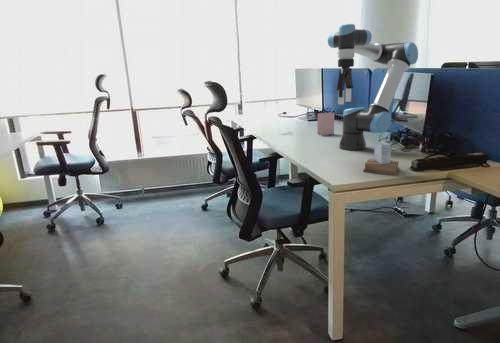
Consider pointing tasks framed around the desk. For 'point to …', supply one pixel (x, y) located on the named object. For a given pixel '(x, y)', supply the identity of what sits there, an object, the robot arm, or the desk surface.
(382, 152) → the medicine box
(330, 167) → the desk surface
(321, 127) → the pink rectangular block
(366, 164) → the plinth
